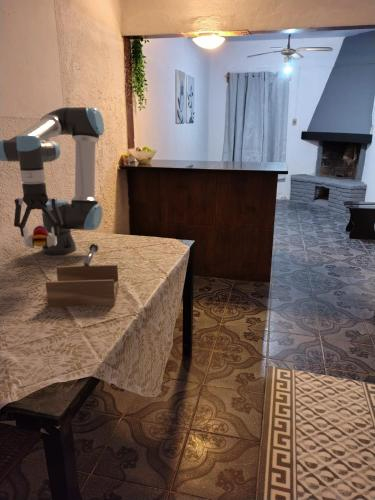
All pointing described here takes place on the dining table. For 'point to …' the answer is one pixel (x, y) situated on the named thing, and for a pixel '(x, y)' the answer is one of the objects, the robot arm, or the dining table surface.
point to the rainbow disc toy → (40, 237)
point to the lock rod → (90, 254)
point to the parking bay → (83, 286)
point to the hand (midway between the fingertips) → (41, 244)
